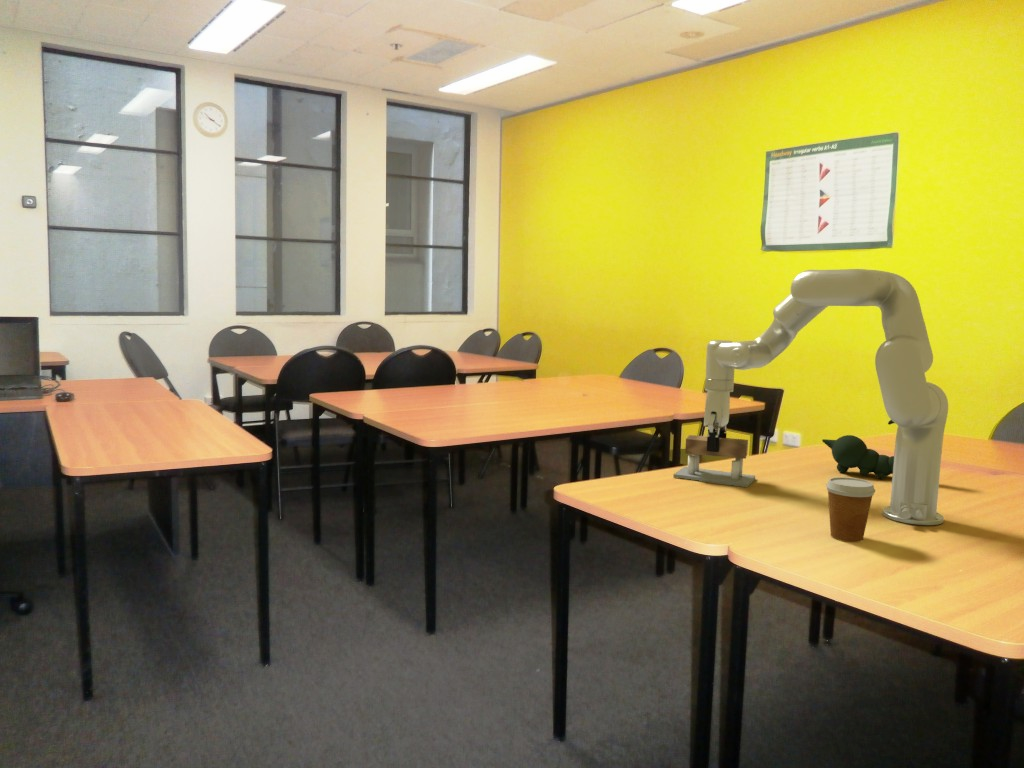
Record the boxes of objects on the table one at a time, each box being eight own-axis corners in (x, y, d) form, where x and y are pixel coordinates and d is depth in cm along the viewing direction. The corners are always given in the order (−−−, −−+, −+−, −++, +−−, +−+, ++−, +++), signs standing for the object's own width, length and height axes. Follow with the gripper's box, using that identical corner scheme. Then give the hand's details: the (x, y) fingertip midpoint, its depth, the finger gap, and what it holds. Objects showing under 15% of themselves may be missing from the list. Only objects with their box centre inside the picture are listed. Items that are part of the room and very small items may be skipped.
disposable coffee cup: (848, 546, 155) (852, 489, 154) (812, 533, 164) (816, 478, 162) (881, 541, 159) (886, 485, 157) (845, 528, 167) (849, 475, 166)
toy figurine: (912, 483, 217) (820, 464, 230) (924, 419, 214) (830, 403, 227) (909, 490, 209) (814, 470, 222) (922, 423, 206) (825, 406, 219)
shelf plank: (685, 453, 210) (685, 439, 210) (688, 448, 217) (689, 435, 216) (745, 458, 205) (746, 444, 204) (747, 454, 211) (748, 439, 211)
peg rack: (747, 487, 202) (748, 465, 202) (673, 477, 212) (674, 456, 211) (755, 479, 212) (756, 457, 211) (684, 470, 221) (685, 449, 221)
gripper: (713, 381, 218) (710, 442, 220) (697, 387, 203) (694, 452, 205) (740, 383, 215) (737, 445, 217) (725, 389, 199) (722, 456, 201)
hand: (716, 448), depth 211 cm, fingers closed on shelf plank, 7 cm apart
